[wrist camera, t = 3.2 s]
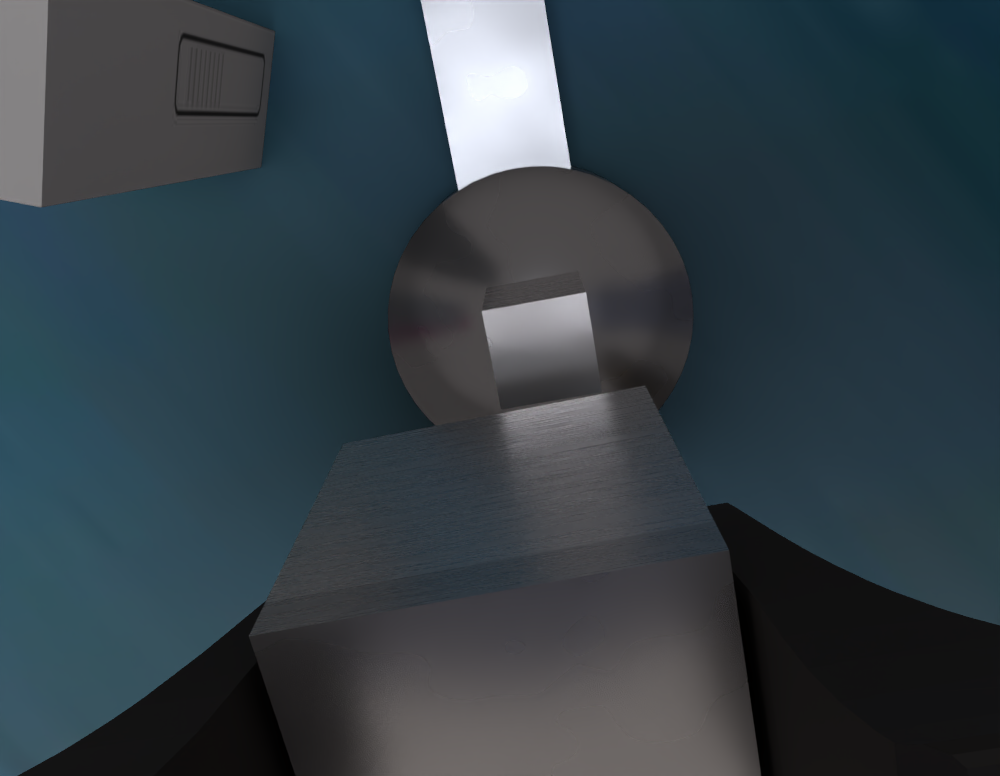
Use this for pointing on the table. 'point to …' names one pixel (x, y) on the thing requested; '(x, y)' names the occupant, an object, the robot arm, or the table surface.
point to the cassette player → (126, 96)
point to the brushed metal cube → (511, 606)
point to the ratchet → (527, 244)
